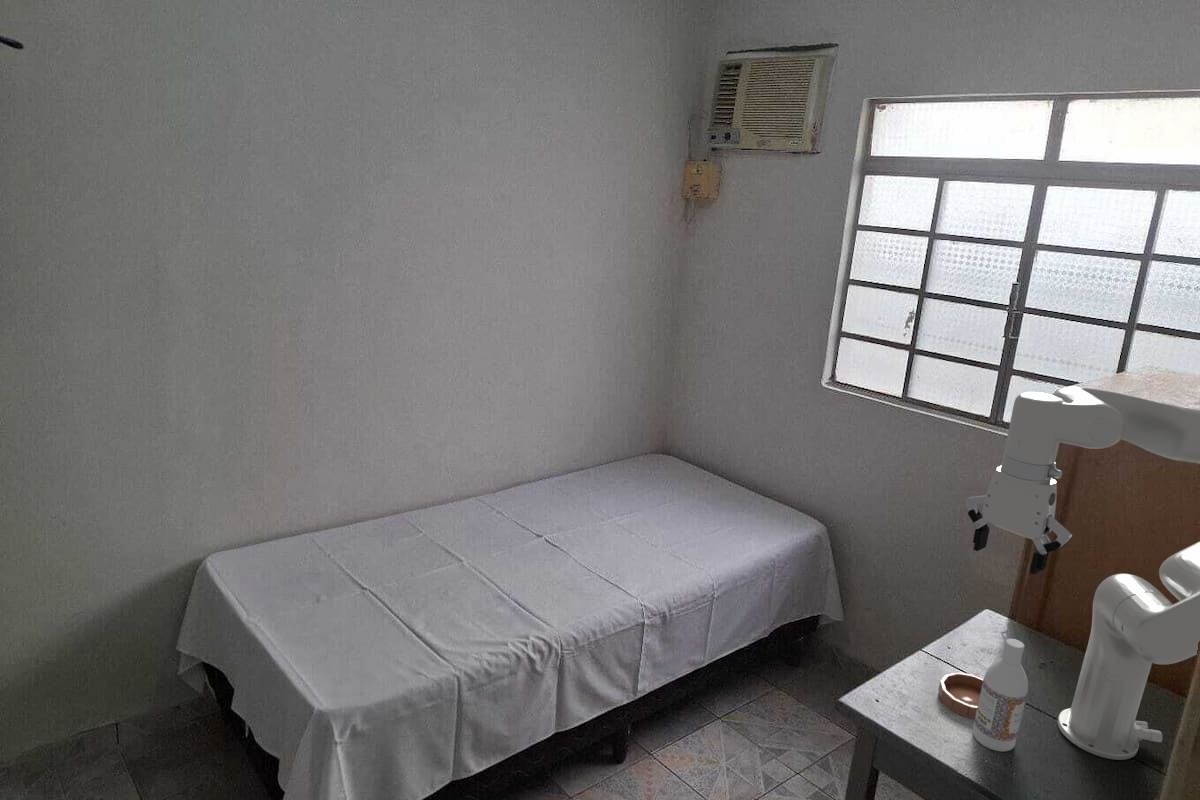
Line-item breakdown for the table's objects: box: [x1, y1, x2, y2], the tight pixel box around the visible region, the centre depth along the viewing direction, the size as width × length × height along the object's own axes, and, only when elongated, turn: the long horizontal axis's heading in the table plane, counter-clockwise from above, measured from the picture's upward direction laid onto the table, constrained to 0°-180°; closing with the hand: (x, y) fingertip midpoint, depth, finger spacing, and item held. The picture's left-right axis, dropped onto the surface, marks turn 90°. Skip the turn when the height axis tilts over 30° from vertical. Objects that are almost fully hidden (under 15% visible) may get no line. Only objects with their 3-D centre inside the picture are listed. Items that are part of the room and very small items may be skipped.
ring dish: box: [938, 671, 984, 721], centre depth 152 cm, size 11×11×3 cm
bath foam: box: [972, 638, 1029, 753], centre depth 139 cm, size 7×7×20 cm
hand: (1006, 559), depth 136 cm, fingers open, 9 cm apart
